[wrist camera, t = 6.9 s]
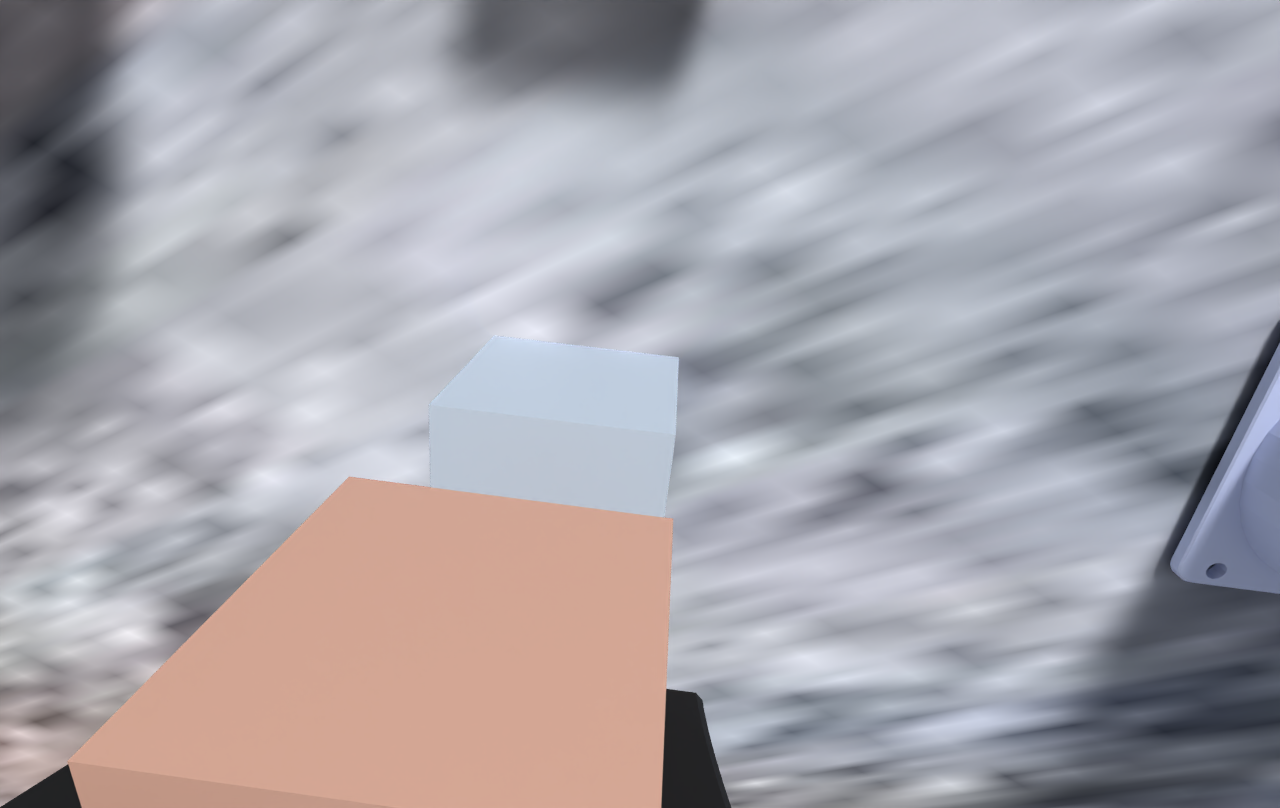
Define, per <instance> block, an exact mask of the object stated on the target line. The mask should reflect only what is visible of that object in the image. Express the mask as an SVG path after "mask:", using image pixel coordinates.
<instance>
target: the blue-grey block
mask: <svg viewBox="0 0 1280 808" xmlns="http://www.w3.org/2000/svg"><path fill="white" fill-rule="evenodd" d="M678 364H679V357H671V356H663V355H654V354H646V353H638V352H629V351H621V350H612V349H604V348H596V347H587V346H579V345H570V344H562V343H554V342H545V341H537V340H528V339H520V338H512V337H503V336H495V335H494V336H493V337H492V338H491V340H490V341H489V342H488V343H487V344H486V345H485V346H484V347H483V348H482V349H481V350H480V351H479V352H478V353H477V354H476V355H475V356H474V357H473V359H472V360H471V361H470V362H469V363H468V364H467V365H466V366H465V367H464V368H463V369H462V370H461V371H460V372H459V373H458V374H457V375H456V376H455V378H454V379H453V380H452V381H451V382H450V383H449V384H448V385H447V386H446V387H445V388H444V389H443V390H442V391H441V392H440V393H439V394H438V396H437V397H436V398H435V399H434V400H433V401H432V402H431V403H430V404H429V444H430V487H432V488H440V489H448V490H455V491H463V492H471V493H478V494H486V495H494V496H502V497H509V498H517V499H525V500H532V501H540V502H548V503H556V504H563V505H571V506H579V507H586V508H594V509H602V510H610V511H617V512H625V513H633V514H640V515H648V516H656V517H665V510H666V502H667V495H668V488H669V480H670V473H671V466H672V458H673V451H674V444H675V436H676V414H677V389H678Z"/></svg>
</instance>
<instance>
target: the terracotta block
mask: <svg viewBox="0 0 1280 808" xmlns="http://www.w3.org/2000/svg"><path fill="white" fill-rule="evenodd" d="M672 534H673V519H671V518H664V517H656V516H648V515H640V514H633V513H625V512H617V511H610V510H602V509H594V508H586V507H579V506H571V505H563V504H556V503H548V502H540V501H532V500H525V499H517V498H509V497H502V496H494V495H486V494H478V493H471V492H463V491H455V490H448V489H440V488H432V487H424V486H417V485H409V484H401V483H394V482H386V481H378V480H370V479H363V478H355V477H348V478H347V479H346V480H345V481H344V482H343V483H342V484H341V485H340V486H339V487H338V488H337V489H336V490H335V491H334V492H333V493H332V494H331V496H330V497H329V498H328V499H327V500H326V501H325V502H324V503H323V504H322V505H321V506H320V507H319V508H318V509H317V510H316V511H315V512H314V513H313V514H312V515H311V516H310V517H309V518H308V519H307V520H306V521H305V522H304V523H303V524H302V525H301V526H300V527H299V528H298V529H297V530H296V531H295V532H294V533H293V534H292V535H291V536H290V537H289V538H288V539H287V540H286V541H285V542H284V543H283V544H282V545H281V546H280V547H279V548H278V549H277V550H276V551H275V552H274V553H273V554H272V555H271V556H270V557H269V558H268V559H267V560H266V561H265V562H264V563H263V564H262V565H261V566H260V567H259V568H258V569H257V570H256V571H255V572H254V573H253V574H252V575H251V576H250V577H249V578H248V579H247V580H246V581H245V582H244V583H243V584H242V585H241V586H240V587H239V588H238V589H237V591H236V592H235V593H234V594H233V595H232V596H231V597H230V598H229V599H228V600H227V601H226V602H225V603H224V604H223V605H222V606H221V607H220V608H219V609H218V610H217V611H216V612H215V613H214V614H213V615H212V616H211V617H210V618H209V619H208V620H207V621H206V622H205V623H204V624H203V625H202V626H201V627H200V628H199V629H198V630H197V631H196V632H195V633H194V634H193V635H192V636H191V637H190V638H189V639H188V640H187V641H186V642H185V643H184V644H183V645H182V646H181V647H180V648H179V649H178V650H177V651H176V652H175V653H174V654H173V655H172V656H171V657H170V658H169V659H168V660H167V661H166V662H165V663H164V664H163V665H162V666H161V667H160V668H159V669H158V670H157V671H156V672H155V673H154V674H153V675H152V676H151V677H150V678H149V679H148V680H147V681H146V682H145V683H144V684H143V685H142V687H141V688H140V689H139V690H138V691H137V692H136V693H135V694H134V695H133V696H132V697H131V698H130V699H129V700H128V701H127V702H126V703H125V704H124V705H123V706H122V707H121V708H120V709H119V710H118V711H117V712H116V713H115V714H114V715H113V716H112V717H111V718H110V719H109V720H108V721H107V722H106V723H105V724H104V725H103V726H102V727H101V728H100V729H99V730H98V731H97V732H96V733H95V734H94V735H93V736H92V737H91V738H90V739H89V740H88V741H87V742H86V743H85V744H84V745H83V746H82V747H81V748H80V749H79V750H78V751H77V752H76V753H75V754H74V755H73V756H72V757H71V758H70V759H69V760H68V761H67V762H68V765H69V768H70V771H71V774H72V778H73V781H74V784H75V787H76V791H77V794H78V797H79V800H80V803H81V807H82V808H661V801H662V777H663V753H664V728H665V704H666V680H667V656H668V631H669V607H670V583H671V559H672Z"/></svg>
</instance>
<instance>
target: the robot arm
mask: <svg viewBox="0 0 1280 808" xmlns="http://www.w3.org/2000/svg"><path fill="white" fill-rule="evenodd" d="M1215 563H1216V564H1215ZM1213 564H1215V565H1214V566H1213V567H1212V568H1210V569H1208V568H1209V567H1210V566H1211V565H1213ZM1170 566H1171V569H1172V571H1173V572H1175V573H1176V574H1177V575H1178V576H1179V577H1180V578H1181V579H1182V580H1184V581H1187V582H1191V583H1199V584H1207V585H1214V586H1222V587H1230V588H1237V589H1245V590H1253V591H1261V592H1268V593H1276V594H1280V343H1279V345H1278V347H1277V349H1276V351H1275V353H1274V355H1273V357H1272V359H1271V361H1270V363H1269V365H1268V367H1267V369H1266V371H1265V373H1264V375H1263V377H1262V379H1261V381H1260V383H1259V385H1258V387H1257V389H1256V391H1255V393H1254V395H1253V397H1252V399H1251V401H1250V403H1249V405H1248V407H1247V409H1246V411H1245V413H1244V415H1243V417H1242V419H1241V421H1240V423H1239V425H1238V427H1237V429H1236V431H1235V433H1234V435H1233V437H1232V439H1231V441H1230V443H1229V445H1228V447H1227V449H1226V451H1225V453H1224V455H1223V457H1222V459H1221V461H1220V463H1219V465H1218V467H1217V469H1216V471H1215V473H1214V475H1213V477H1212V479H1211V481H1210V483H1209V485H1208V487H1207V489H1206V491H1205V493H1204V495H1203V497H1202V499H1201V501H1200V503H1199V505H1198V507H1197V509H1196V511H1195V513H1194V515H1193V517H1192V519H1191V521H1190V523H1189V525H1188V527H1187V529H1186V531H1185V533H1184V535H1183V537H1182V539H1181V541H1180V543H1179V545H1178V547H1177V549H1176V551H1175V553H1174V555H1173V557H1172V559H1171V563H1170ZM1207 569H1208V570H1207ZM0 808H82V807H81V803H80V800H79V797H78V794H77V791H76V787H75V784H74V781H73V778H72V774H71V771H70V768H69V765H66V766H65V767H63V768H62V769H60V770H58V771H57V772H55V773H54V774H52V775H50V776H49V777H47V778H46V779H44V780H43V781H41V782H39V783H38V784H36V785H35V786H33V787H32V788H30V789H28V790H27V791H25V792H24V793H22V794H20V795H19V796H17V797H16V798H14V799H13V800H11V801H9V802H8V803H6V804H5V805H3V806H1V807H0ZM661 808H731V805H730V802H729V799H728V796H727V793H726V790H725V787H724V784H723V781H722V777H721V774H720V771H719V768H718V764H717V761H716V758H715V754H714V750H713V747H712V743H711V739H710V735H709V731H708V727H707V722H706V718H705V713H704V708H703V701H702V699H701V698H700V697H699V696H698V695H697V694H696V693H693V692H685V691H678V690H671V689H666V704H665V728H664V753H663V777H662V801H661Z"/></svg>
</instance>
